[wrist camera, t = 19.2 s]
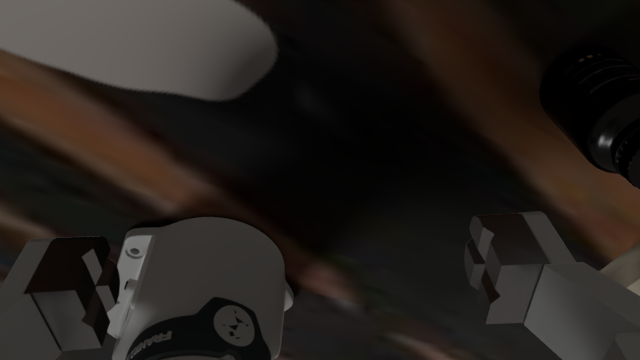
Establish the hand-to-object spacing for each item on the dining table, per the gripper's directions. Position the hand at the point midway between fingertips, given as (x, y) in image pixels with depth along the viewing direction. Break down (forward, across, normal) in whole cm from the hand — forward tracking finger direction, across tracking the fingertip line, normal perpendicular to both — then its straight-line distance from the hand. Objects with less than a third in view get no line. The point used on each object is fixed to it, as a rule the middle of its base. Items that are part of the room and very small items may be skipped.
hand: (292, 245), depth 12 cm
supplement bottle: (+29, -24, +11) cm, 39 cm away
